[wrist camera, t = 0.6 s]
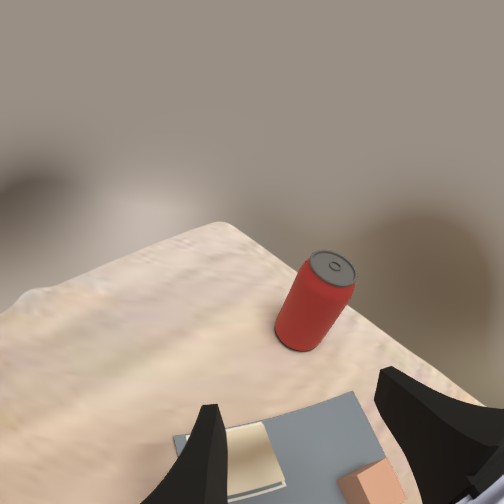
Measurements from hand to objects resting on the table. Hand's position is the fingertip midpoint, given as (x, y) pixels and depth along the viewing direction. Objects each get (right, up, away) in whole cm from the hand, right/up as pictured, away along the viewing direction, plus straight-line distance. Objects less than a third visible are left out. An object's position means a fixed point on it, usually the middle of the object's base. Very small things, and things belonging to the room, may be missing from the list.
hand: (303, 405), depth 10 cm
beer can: (+4, -4, +25) cm, 26 cm away
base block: (-4, -13, +9) cm, 17 cm away
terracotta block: (+9, -18, +8) cm, 22 cm away
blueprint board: (+2, -16, +9) cm, 19 cm away
